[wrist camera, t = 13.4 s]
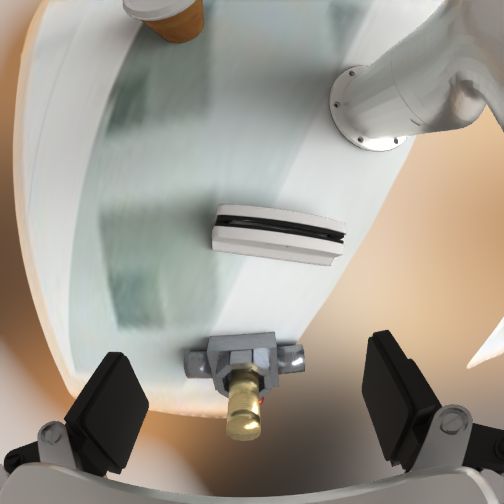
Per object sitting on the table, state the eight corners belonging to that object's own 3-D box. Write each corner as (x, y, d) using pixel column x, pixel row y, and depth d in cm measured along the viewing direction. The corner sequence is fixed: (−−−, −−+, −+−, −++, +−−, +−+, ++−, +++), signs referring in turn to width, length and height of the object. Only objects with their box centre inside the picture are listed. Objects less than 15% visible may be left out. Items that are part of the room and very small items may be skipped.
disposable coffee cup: (143, 52, 30) (107, 18, 19) (161, 3, 28) (135, -38, 16) (206, 54, 31) (188, 13, 19) (222, 4, 28) (212, -44, 17)
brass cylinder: (256, 359, 39) (259, 421, 27) (258, 379, 40) (261, 439, 28) (229, 361, 39) (223, 422, 27) (232, 380, 40) (228, 441, 29)
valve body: (300, 329, 42) (308, 356, 35) (300, 383, 45) (306, 412, 39) (185, 337, 42) (175, 364, 36) (199, 389, 46) (193, 417, 39)
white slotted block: (210, 250, 38) (200, 244, 28) (215, 216, 39) (207, 198, 29) (329, 266, 39) (357, 265, 29) (332, 233, 39) (361, 222, 29)
